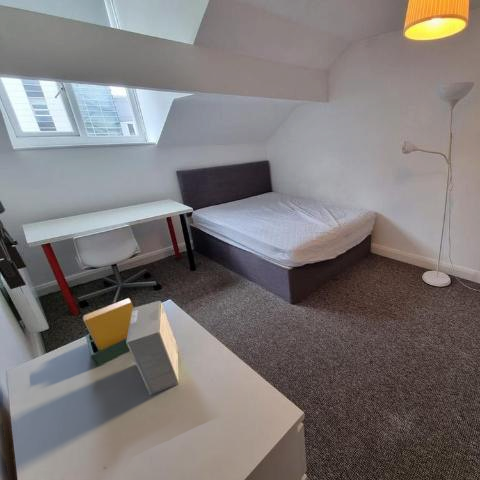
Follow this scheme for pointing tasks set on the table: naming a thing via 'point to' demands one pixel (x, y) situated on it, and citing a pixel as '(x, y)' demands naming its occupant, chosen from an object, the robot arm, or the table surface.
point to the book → (109, 323)
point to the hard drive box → (153, 347)
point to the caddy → (106, 351)
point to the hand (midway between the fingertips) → (19, 277)
